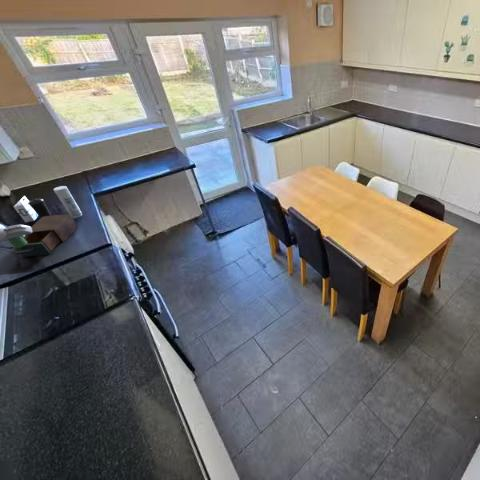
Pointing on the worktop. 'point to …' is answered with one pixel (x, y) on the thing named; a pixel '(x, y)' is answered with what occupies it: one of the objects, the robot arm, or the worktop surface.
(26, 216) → the ink box
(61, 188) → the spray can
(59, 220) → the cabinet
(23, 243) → the green can
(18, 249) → the drawer
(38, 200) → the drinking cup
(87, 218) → the worktop surface
